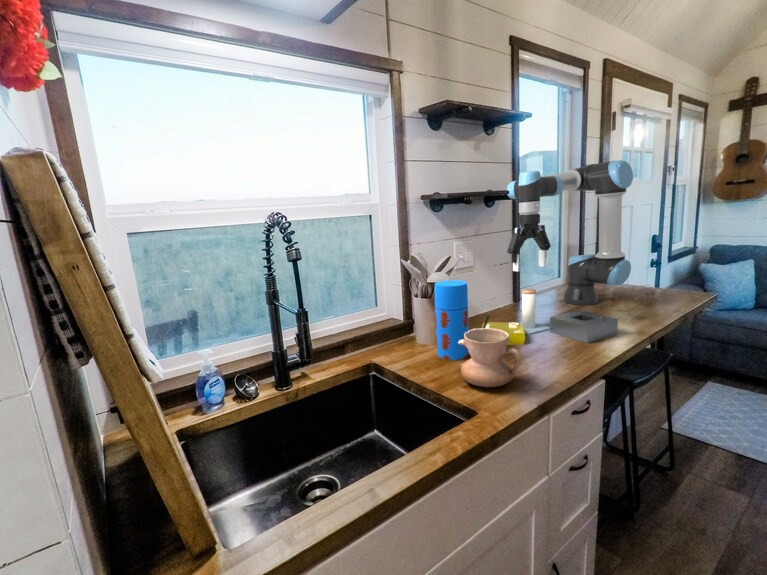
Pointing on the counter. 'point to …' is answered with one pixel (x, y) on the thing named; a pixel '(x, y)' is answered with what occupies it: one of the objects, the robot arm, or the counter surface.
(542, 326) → the mat
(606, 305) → the counter surface
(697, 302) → the counter surface
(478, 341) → the ceramic jug
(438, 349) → the thermos
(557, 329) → the block
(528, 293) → the white cylinder
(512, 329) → the element tile
